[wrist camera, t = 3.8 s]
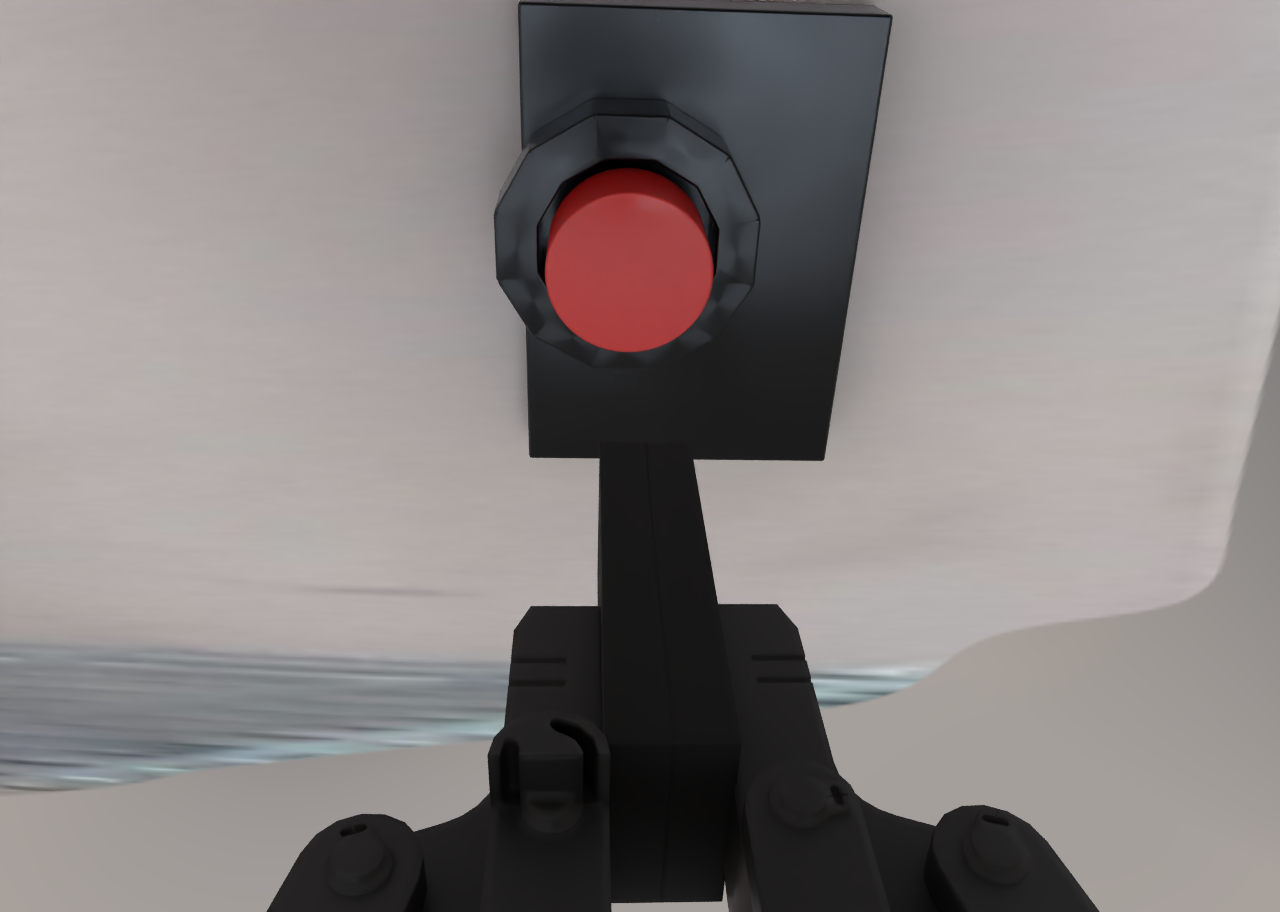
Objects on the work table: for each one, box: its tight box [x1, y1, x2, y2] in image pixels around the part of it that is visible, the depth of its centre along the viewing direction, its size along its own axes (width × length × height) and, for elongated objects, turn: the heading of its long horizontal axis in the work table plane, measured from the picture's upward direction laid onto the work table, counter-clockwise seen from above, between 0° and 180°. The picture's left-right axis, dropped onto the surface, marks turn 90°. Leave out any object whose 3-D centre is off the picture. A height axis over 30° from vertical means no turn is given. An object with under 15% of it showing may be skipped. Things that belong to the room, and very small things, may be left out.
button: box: [545, 168, 713, 352], centre depth 27 cm, size 4×4×2 cm
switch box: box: [494, 0, 893, 461], centre depth 30 cm, size 14×11×4 cm
